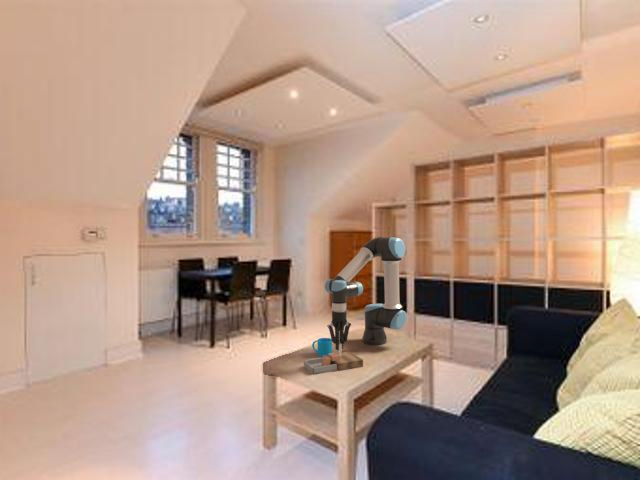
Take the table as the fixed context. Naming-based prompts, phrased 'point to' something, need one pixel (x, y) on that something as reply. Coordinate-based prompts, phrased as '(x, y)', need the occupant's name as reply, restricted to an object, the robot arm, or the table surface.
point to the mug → (323, 346)
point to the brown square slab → (348, 361)
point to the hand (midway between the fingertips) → (339, 355)
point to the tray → (318, 366)
